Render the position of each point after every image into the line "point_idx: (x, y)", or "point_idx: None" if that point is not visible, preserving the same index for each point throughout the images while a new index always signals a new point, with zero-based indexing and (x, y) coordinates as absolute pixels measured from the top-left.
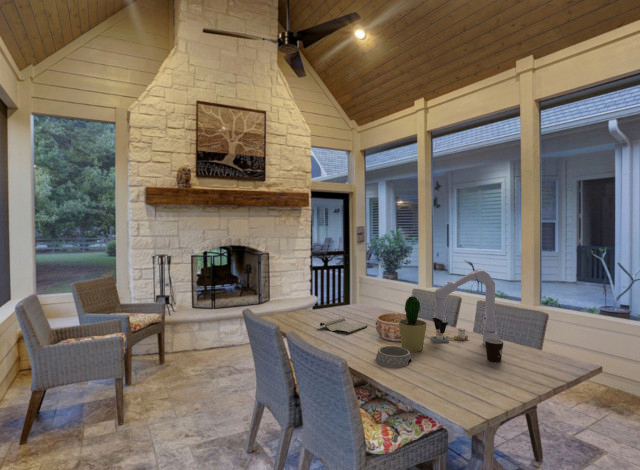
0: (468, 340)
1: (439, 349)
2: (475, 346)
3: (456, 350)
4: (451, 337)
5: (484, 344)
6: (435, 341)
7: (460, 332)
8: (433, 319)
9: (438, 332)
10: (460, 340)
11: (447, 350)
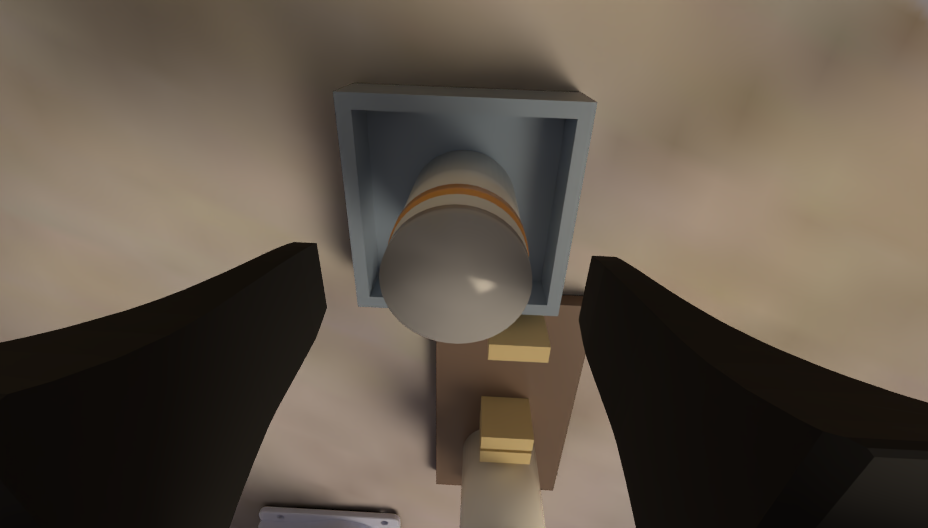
0: (447, 477)
1: (92, 44)
2: (312, 460)
3: (129, 263)
4: (576, 389)
5: (323, 525)
6: (339, 89)
7: (473, 515)
8: (796, 414)
9: (400, 230)
10: (453, 424)
11: (87, 153)
